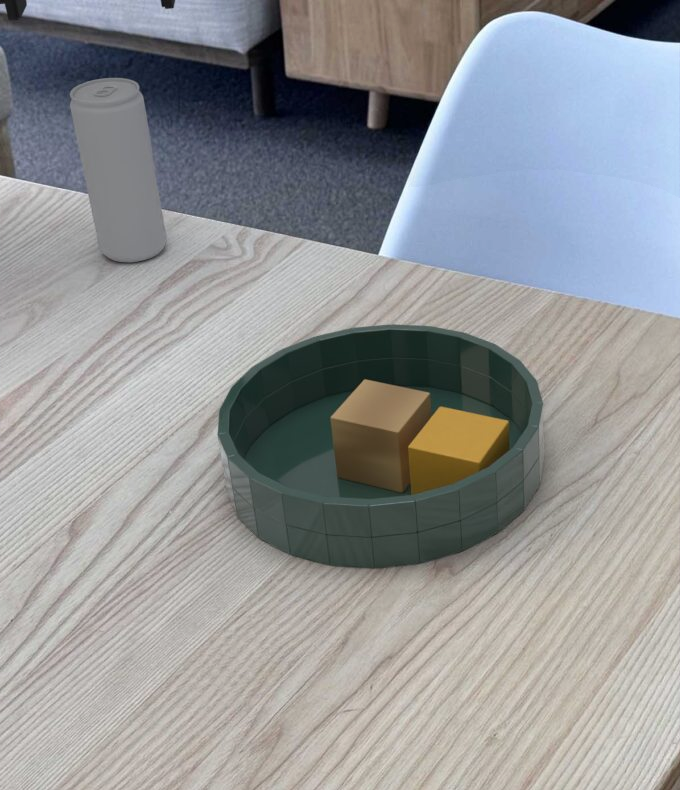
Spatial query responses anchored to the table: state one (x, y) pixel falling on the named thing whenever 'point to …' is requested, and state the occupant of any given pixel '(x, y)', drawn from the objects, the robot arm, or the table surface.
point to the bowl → (360, 501)
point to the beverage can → (119, 168)
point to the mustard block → (455, 448)
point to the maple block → (378, 433)
